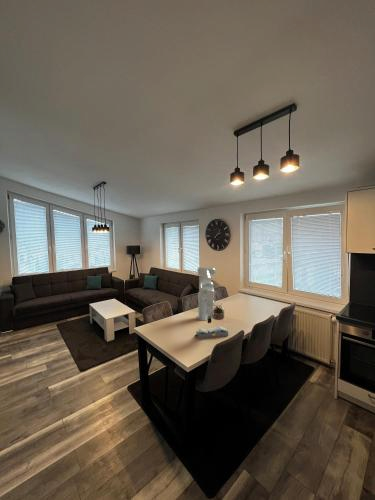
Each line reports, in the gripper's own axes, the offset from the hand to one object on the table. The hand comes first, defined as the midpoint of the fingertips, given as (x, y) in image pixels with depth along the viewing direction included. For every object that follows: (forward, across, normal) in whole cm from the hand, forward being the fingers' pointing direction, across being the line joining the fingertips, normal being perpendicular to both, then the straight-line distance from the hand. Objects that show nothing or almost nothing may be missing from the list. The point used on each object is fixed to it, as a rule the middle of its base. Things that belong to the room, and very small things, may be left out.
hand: (209, 322), depth 189 cm
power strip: (+13, -1, +2) cm, 13 cm away
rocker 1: (+7, 0, -6) cm, 9 cm away
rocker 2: (+7, 0, +3) cm, 8 cm away
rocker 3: (+7, 0, +13) cm, 14 cm away
